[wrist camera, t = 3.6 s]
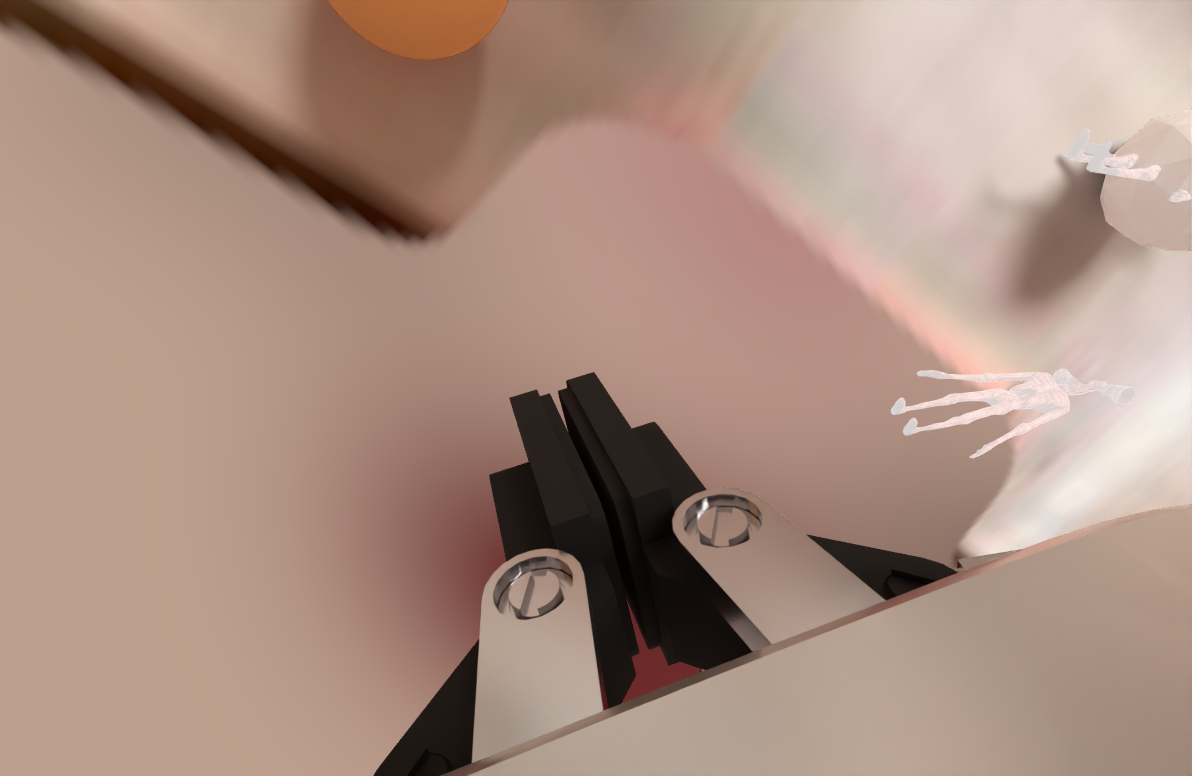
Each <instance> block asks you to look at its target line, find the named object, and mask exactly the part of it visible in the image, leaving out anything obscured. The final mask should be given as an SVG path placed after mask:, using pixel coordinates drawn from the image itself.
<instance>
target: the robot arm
mask: <svg viewBox="0 0 1192 776" xmlns="http://www.w3.org/2000/svg"><path fill="white" fill-rule="evenodd" d="M566 383H567V388H566V389H563V390H559V391H558V394H559V399H560V402H561V406H562V410H563V413H564V417H565V421H566V425H567V429H568V431H567V429H566V427H565V425H564V423H563V421H562V418H561V416H560V414H559V412H558V410H557V408H556V406H555V403H554V401H553V399H552V397H551V395H550V394H547V395H543V396H539V394H538V391H537V390H534V391H530V392H527V393H524V394H521V395H517V396H514V397H511V398H510V402H511V405H512V408H513V412H514V415H515V418H516V421H517V425H518V428H519V431H520V434H521V438H522V441H523V444H524V448H525V451H526V454H527V457H528V461H529V462H527V463H524V464H521V465H518V466H515V467H512V468H509V469H506V470H502V471H499V472H497V473H493V474H490V476H489V477H490V482H491V487H492V492H493V497H494V502H495V507H496V512H497V517H498V522H499V526H500V531H501V537H502V542H503V547H504V551H505V556H506V561H507V562H505V563H504V564H503V565H502V566H501V567H500V568H498V569H497V570H496V571H495V572H494V573H493V574H492V576H491V578H490V579H489V581H488V582H487V584H486V585H485V589H484V593H483V596H482V607H481V622H480V638H479V640H478V641H477V642H476V644H475V645H474V646H473V647H472V649H471V650H470V651H469V653H468V654H467V655H466V656H465V658H464V659H463V660H462V661H461V663H460V664H459V665H458V667H457V668H456V669H455V670H454V672H453V673H452V674H451V676H450V677H449V678H448V679H447V681H446V682H445V683H444V685H443V686H442V687H441V688H440V690H439V691H438V692H437V693H436V695H435V696H434V697H433V699H432V700H431V701H430V703H429V704H428V705H427V707H426V708H425V709H424V710H423V711H422V713H421V714H420V715H419V717H418V718H417V719H416V720H415V722H414V723H413V724H412V725H411V727H410V728H409V729H408V731H407V732H406V733H405V734H404V736H403V737H402V738H401V739H400V741H399V743H397V745H396V746H395V747H394V748H393V750H392V751H391V752H390V754H389V755H388V756H387V757H386V759H385V760H384V761H383V763H382V764H381V765H380V767H379V768H378V769H377V771H376V772H375V774H374V776H1192V504H1189V505H1182V506H1176V507H1169V508H1162V509H1156V510H1150V511H1146V512H1142V513H1138V514H1134V515H1129V516H1125V517H1121V518H1117V519H1113V520H1109V521H1104V522H1101V523H1098V524H1095V525H1092V526H1089V527H1086V528H1084V529H1081V530H1078V531H1075V532H1072V533H1068V534H1065V535H1062V536H1059V537H1055V538H1052V539H1049V540H1047V541H1044V542H1041V543H1038V544H1036V545H1033V546H1030V547H1027V548H1025V549H1021V550H1015V551H1008V552H1002V553H996V554H990V555H984V556H978V557H971V558H965V559H959V560H957V569H951V568H949V567H947V566H945V565H944V564H941V563H938V562H935V561H931V560H928V559H925V558H921V557H916V556H911V555H906V554H901V553H895V552H891V551H885V550H881V549H876V548H871V547H866V546H861V545H856V544H850V543H846V542H841V541H836V540H831V539H826V538H821V537H816V536H811V535H806V534H804V533H803V532H802V531H801V530H799V529H798V528H797V527H796V526H795V525H793V524H792V523H791V522H790V521H789V520H787V519H786V518H785V517H784V516H782V515H781V514H780V513H779V512H777V511H776V510H775V509H774V508H773V507H772V506H770V505H769V504H768V503H767V502H765V501H764V500H763V499H761V498H760V497H758V496H756V495H755V494H753V493H751V492H747V491H744V490H741V489H737V488H716V489H708V490H706V488H705V487H704V486H703V484H702V483H701V482H700V481H699V479H698V478H697V476H696V475H695V474H694V472H693V471H692V470H691V469H690V467H689V466H688V464H687V463H686V462H685V461H684V459H683V458H682V457H681V455H680V454H679V452H678V451H677V450H676V449H675V447H674V446H673V444H672V443H671V442H670V441H669V439H668V438H667V437H666V435H665V434H664V433H663V431H662V430H661V429H660V427H659V426H658V425H657V424H656V423H655V422H651V423H648V424H645V425H642V426H639V427H636V428H632V429H631V427H630V425H629V424H628V422H627V421H626V419H625V418H624V417H623V415H622V414H621V412H620V410H619V409H618V407H617V406H616V404H615V403H614V401H613V400H612V398H611V397H610V395H609V394H608V392H607V391H606V389H605V388H604V386H603V385H602V383H601V382H600V380H599V379H598V378H597V376H596V374H595V373H594V372H593V373H589V374H586V375H583V376H580V377H576V378H573V379H570V380H567V381H566ZM626 599H627V600H626ZM627 601H628V603H629V606H630V608H631V610H632V613H633V615H634V617H635V620H636V622H637V624H638V627H639V629H640V631H641V634H642V636H643V638H644V640H645V643H646V645H647V647H648V649H653V648H656V647H658V646H660V648H661V649H662V652H663V654H664V656H665V658H666V661H667V663H668V665H671V664H674V663H677V662H683V663H686V664H689V665H692V666H694V667H697V668H698V669H699V673H698V674H696V675H694V676H691V677H688V678H686V679H683V680H680V681H678V682H675V683H673V684H670V685H668V686H665V687H663V688H660V689H658V690H655V691H652V692H650V693H647V694H645V695H642V696H640V697H637V698H635V699H632V700H630V701H627V702H624V703H622V701H623V699H624V697H625V695H626V694H627V692H628V690H629V688H630V686H631V684H632V682H633V680H634V678H635V676H636V673H635V669H634V665H633V661H632V656H634V655H637V654H639V649H638V645H637V641H636V637H635V633H634V629H633V625H632V621H631V616H630V612H629V608H628V604H627ZM621 703H622V704H621Z"/></svg>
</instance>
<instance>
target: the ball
mask: <svg viewBox="0 0 1192 776" xmlns="http://www.w3.org/2000/svg"><path fill="white" fill-rule="evenodd" d="M328 1H329V3H330V4H331V6H332V7H333V8H334V10H335V11H336V12H337V13H338V14H339V15H340V17H341V18H342V19H343V20H344V21H345V22H346V23H347V24H348V25H349V26H350V27H351V28H352V29H353V30H354V31H355V32H357V33H358V34H359V35H361V36H362V37H363V38H365V39H366V40H367V41H369V42H371V43H372V44H374V45H376V46H377V47H379V48H381V49H383V50H386V51H388V52H390V53H393V54H396V55H399V56H403V57H406V58H412V59H419V60H435V59H442V58H447V57H450V56H454V55H457V54H459V53H461V52H463V51H466V50H468V49H469V48H471V47H472V46H474V45H475V44H477V43H478V42H480V41H481V40H482V39H483V38H484V37H485V36H486V35H487V34H488V33H489V32H490V31H491V30H492V28H493V27H494V26H495V25H496V23H497V22H498V20H499V19H500V17H501V15H502V14H503V12H504V10H505V8H506V5H507V3H508V1H509V0H328Z"/></svg>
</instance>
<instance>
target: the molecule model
mask: <svg viewBox="0 0 1192 776" xmlns="http://www.w3.org/2000/svg"><path fill="white" fill-rule="evenodd" d="M1090 134H1091V131H1090V130H1088V129H1083V130H1082V131H1081V132H1080V133H1079V135H1078V136H1077V137H1076V139H1075V140H1074V142H1073V144H1072V146H1071V148H1070V149H1069V150H1068V152H1067V153H1066V156H1065V157H1066V158H1068V159H1070V160H1075V161H1077V162H1086V163H1088V165H1087V168H1086V169H1087V170H1088V171H1090V172H1095V173H1102V174H1106V176H1105V180H1104V183H1103V187H1102V192H1101V196H1100V201H1101V205H1102V209H1103V212H1104V216H1105V220H1106V222H1107V223H1108V224H1110V225H1111V226H1112V227H1113V228H1115V229H1116V230H1117V231H1119V232H1120V233H1121V234H1123V235H1124V236H1126V237H1127V238H1129V239H1130V240H1132V241H1133V242H1135V243H1136V244H1138V245H1141V246H1146V247H1152V248H1158V249H1164V250H1177V251H1191V250H1192V109H1188V110H1185V111H1181V112H1177V113H1174V114H1170V115H1166V116H1163V117H1159V118H1156V119H1152V120H1151V121H1150V122H1148V123H1147V124H1146V125H1145V126H1144V127H1143V128H1142V129H1141V130H1139V131H1138V132H1137V133H1136V134H1135V135H1134V136H1133V137H1132V138H1131V139H1129V140H1128V141H1127V142H1126V143H1125V144H1124V145H1123V146H1122V147H1120V148H1119V149H1118V150H1117V151H1116V152H1115V153H1114V154H1113V155H1112V154H1110V153H1109V150H1110V148H1111V146H1112V144H1113V142H1111V141H1109V140H1105V141H1104V142H1103V143H1102V144H1101V145H1099V144H1096V143H1093V142H1089V144H1086V142H1087V140H1088V139H1089V137H1090ZM1090 144H1091V145H1090ZM1092 145H1094V146H1097V147H1094V146H1092ZM1084 146H1087V147H1084ZM1088 147H1090V148H1088ZM1081 148H1082V149H1081ZM1083 149H1085V150H1083ZM1082 152H1084V153H1087V154H1091V155H1093V156H1091V155H1085V154H1083V153H1082ZM1105 165H1108V167H1107V166H1105ZM917 374H918V376H929V377H932V378H938V379H947V378H950V379H964V380H969V381H975V382H982V383H988V382H994V381H1027V382H1025V383H1023V384H1020V385H1016V386H1014V387H1012V388H1011V389H1010V390H1009V391H1006V390H1003V389H1001V388H995V389H990V390H983V391H977V392H966V393H960V394H958V393H953V394H949V395H947V396H945V397H944V398H941V399H938V400H935V401H930V402H925V403H920V404H918V405H915V406H909V407H907V406H905V405H906V401H905V400H904V398H900V399H898V400H897V401H896V403H895V405H894V406H893V407H892V409H891V413H892V414H895V415H897V414H901V413H904V412H906V411H910V410H918V409H923V408H927V407H932V406H941V405H949V404H955V403H957V402H965V401H983V402H987V403H988V404H990V405H991V406H990V407H986V408H982V409H980V410H976V411H972V412H970V413H965V414H963V415H961V416H957V417H952V418H951V419H949V420H948V421H946V422H942V423H934V424H931V425H929V426H925V427H916V426H917V424H918V421H917V420H916V418H912V419H911V420H910V421H909V422H908V423H907V425H906V426H905V427H904V429H903V433H904V435H906V436H907V435H910V434H914V433H917V432H920V431H925V430H926V431H927V430H935V429H939V428H945V427H950V426H954V425H959V424H968V423H970V422H972V421H974V420H977V419H980V418H984V417H988V416H990V415H1004V414H1007V413H1008V412H1010V411H1012V410H1014V409H1016V410H1018V409H1021V410H1025V409H1033V410H1034V409H1035V410H1038V411H1040V412H1042V413H1044V415H1043V416H1041V417H1039V418H1037V419H1035V420H1033V421H1032V422H1030V423H1021V424H1020V425H1019V426H1017V427H1016V428H1015V429H1014V430H1013V431H1011V432H1009V433H1007V434H1005V435H1004V436H1002V437H1000V438H999V439H997V440H995V441H993V442H991V443H988V444H986V445H984V446H983V447H982V449H980V450H977V453H975V454H973V455H972V456H970V458H975V457H978V456H980V455H982V454H984V453H985V452H987V451H988V450H990V449H992V448H993V447H994V446H996V445H998V444H999V443H1002V442H1003V441H1005V440H1007V439H1009V438H1011V437H1013V436H1015V435H1022V434H1024V433H1026V432H1028V431H1029V430H1031V429H1033V428H1035V427H1037V426H1038V425H1040V424H1044V423H1046V422H1048V421H1050V420H1053V419H1056V418H1058V417H1059V416H1061V415H1063V414H1066V413H1067V412H1069V410H1070V400H1069V398H1068V396H1069V395H1080V394H1084V393H1087V392H1092V391H1099V392H1100V393H1102V394H1104V395H1105V396H1107V397H1108V398H1110V399H1111V400H1113V401H1115V402H1116V404H1118V405H1119V406H1122V407H1124V406H1126V405H1128V404H1129V403H1131V401H1132V400H1133V398H1134V396H1135V388H1134V387H1132V386H1118V385H1110V384H1108V383H1107V382H1106V381H1101V382H1099V381H1096V380H1094V381H1091V382H1090V383H1089V384H1083V383H1081V382H1080V381H1079V380H1077V379H1076V378H1075V377H1073V376H1072V375H1071V374H1070V373H1069V371H1068V370H1067V369H1066V368H1061V369H1058V370H1057V371H1056V372H1055V373H1054V374H1053V375H1052V376H1051V375H1050V374H1048V373H1045V372H1043V373H1041V372H1038V373H1037V372H1028V373H1023V372H1022V373H1012V374H991V373H984V374H981V375H956V374H946V373H944V372H939V371H933V370H932V371H931V370H928V371H919V372H918V373H917ZM1087 389H1094V390H1091V391H1085V390H1087ZM1081 391H1085V392H1084V393H1080V394H1074V393H1077V392H1081ZM1067 394H1069V395H1067Z"/></svg>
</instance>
